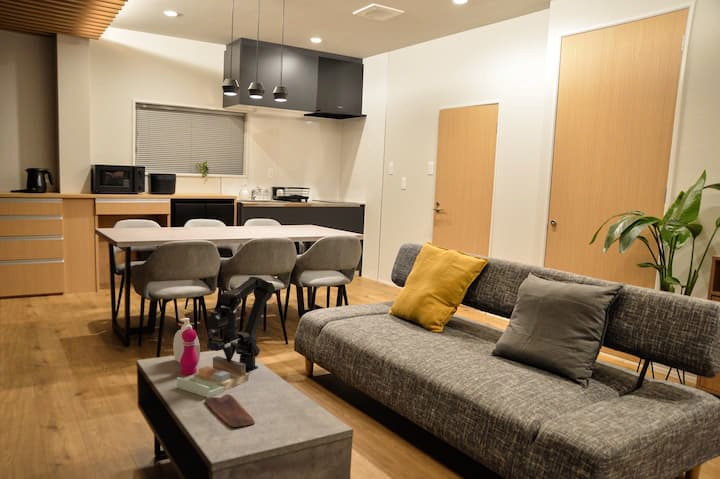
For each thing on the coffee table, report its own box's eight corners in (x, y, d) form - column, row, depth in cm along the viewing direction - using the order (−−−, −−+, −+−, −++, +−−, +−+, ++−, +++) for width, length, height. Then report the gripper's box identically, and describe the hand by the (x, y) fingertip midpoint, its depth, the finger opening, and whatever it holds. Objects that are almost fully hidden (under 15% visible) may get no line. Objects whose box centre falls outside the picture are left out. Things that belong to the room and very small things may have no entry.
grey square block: (221, 376, 217) (221, 370, 217) (229, 378, 215) (229, 372, 215) (212, 379, 214) (212, 373, 213) (221, 382, 211) (221, 376, 211)
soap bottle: (172, 359, 244) (172, 315, 242) (183, 357, 247) (183, 314, 245) (188, 369, 232) (189, 323, 230) (200, 366, 236) (200, 321, 234)
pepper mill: (200, 370, 232) (201, 324, 230) (193, 376, 225) (194, 328, 223) (184, 368, 233) (184, 322, 231) (176, 374, 225) (177, 327, 223)
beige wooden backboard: (220, 372, 230) (220, 365, 230) (248, 381, 222) (248, 373, 222) (194, 381, 218) (194, 374, 218) (222, 391, 210) (222, 383, 210)
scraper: (217, 366, 228) (217, 356, 228) (245, 375, 220) (245, 364, 220) (212, 368, 226) (212, 357, 226) (241, 376, 218) (241, 365, 217)
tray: (193, 381, 219) (193, 371, 218) (223, 391, 210) (223, 381, 209) (176, 387, 212) (177, 377, 211) (207, 398, 203) (207, 387, 203)
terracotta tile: (207, 372, 222) (207, 366, 221) (215, 374, 219) (215, 368, 219) (198, 375, 218) (198, 369, 218) (206, 377, 215) (206, 371, 215)
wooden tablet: (257, 419, 183) (228, 422, 178) (256, 426, 183) (228, 429, 178) (230, 392, 205) (203, 394, 200) (229, 398, 205) (203, 400, 200)
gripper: (231, 316, 233) (231, 351, 235) (197, 325, 217) (197, 363, 219) (250, 320, 227) (250, 356, 229) (217, 330, 211) (217, 369, 213)
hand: (228, 361), depth 223 cm, fingers closed, pressing on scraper
